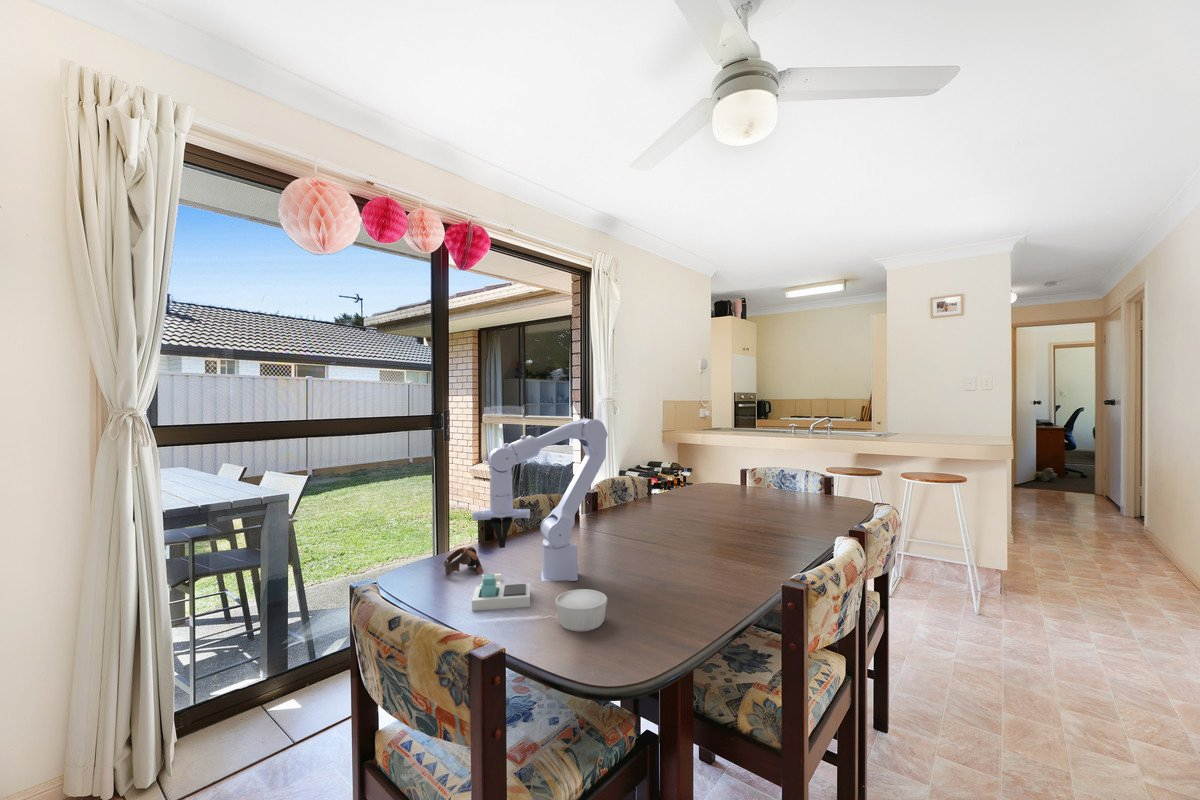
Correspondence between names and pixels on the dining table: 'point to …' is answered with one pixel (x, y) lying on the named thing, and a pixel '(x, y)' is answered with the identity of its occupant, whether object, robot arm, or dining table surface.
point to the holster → (498, 579)
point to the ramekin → (581, 609)
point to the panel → (503, 597)
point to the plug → (489, 586)
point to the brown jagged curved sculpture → (463, 560)
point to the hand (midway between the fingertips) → (502, 546)
